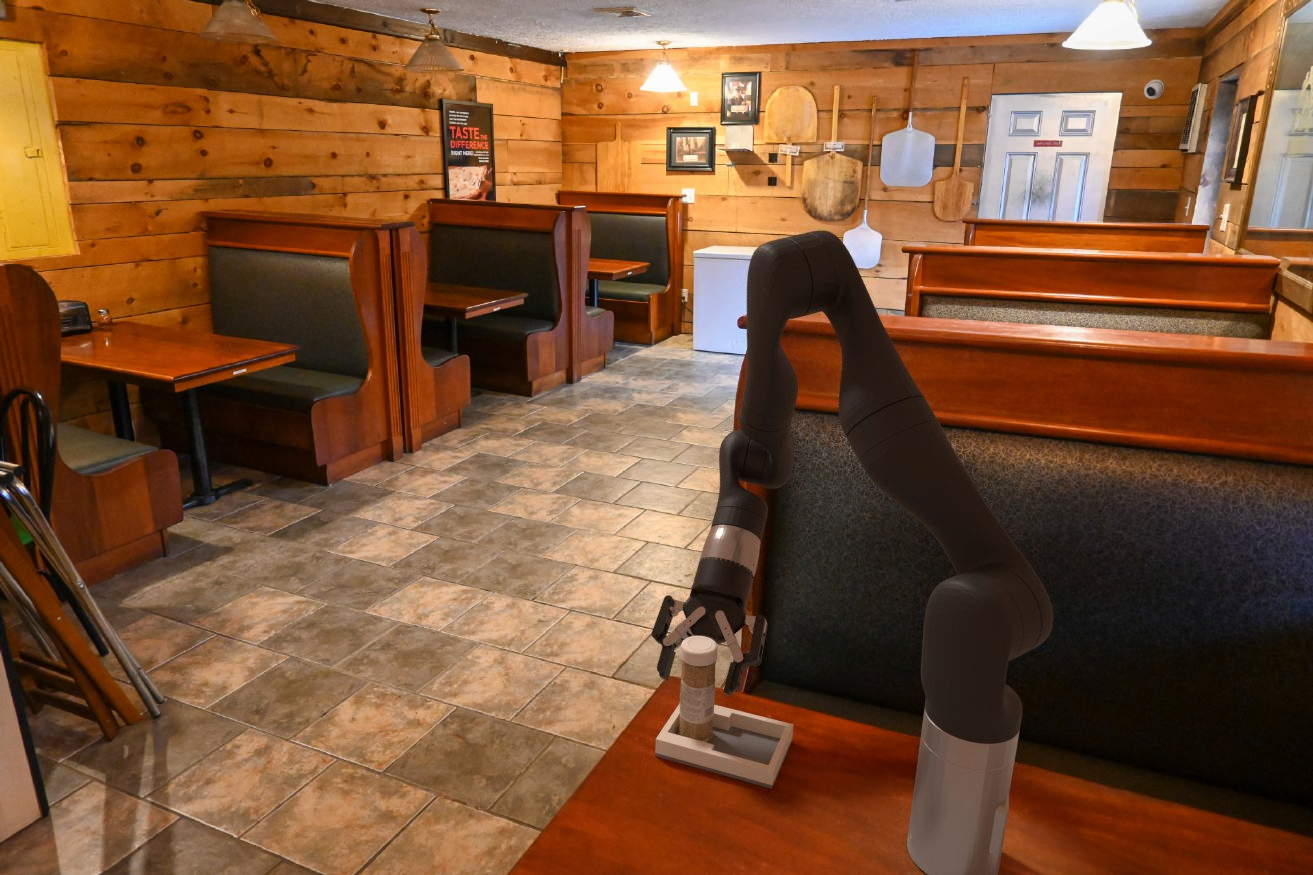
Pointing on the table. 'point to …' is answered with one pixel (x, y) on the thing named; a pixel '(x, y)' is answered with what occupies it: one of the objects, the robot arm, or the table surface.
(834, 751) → the table surface
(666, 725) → the shallow tray
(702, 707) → the sprinkles bottle
